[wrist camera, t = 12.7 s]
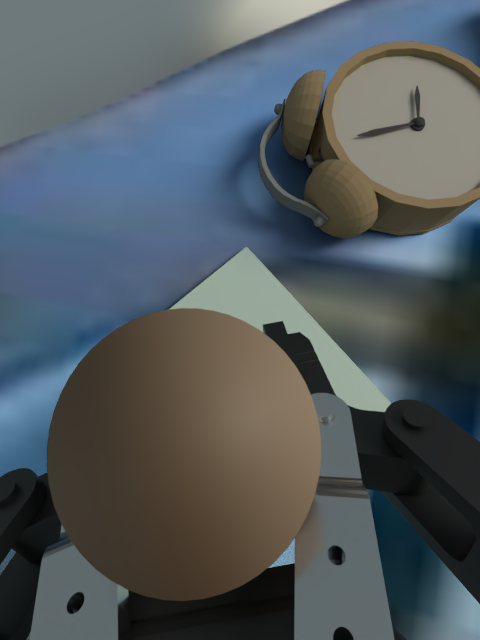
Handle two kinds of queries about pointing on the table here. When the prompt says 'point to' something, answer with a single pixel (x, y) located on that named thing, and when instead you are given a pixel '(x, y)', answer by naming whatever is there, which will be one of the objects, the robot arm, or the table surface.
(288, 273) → the table surface
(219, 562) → the peg
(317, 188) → the alarm clock
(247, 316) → the tile
